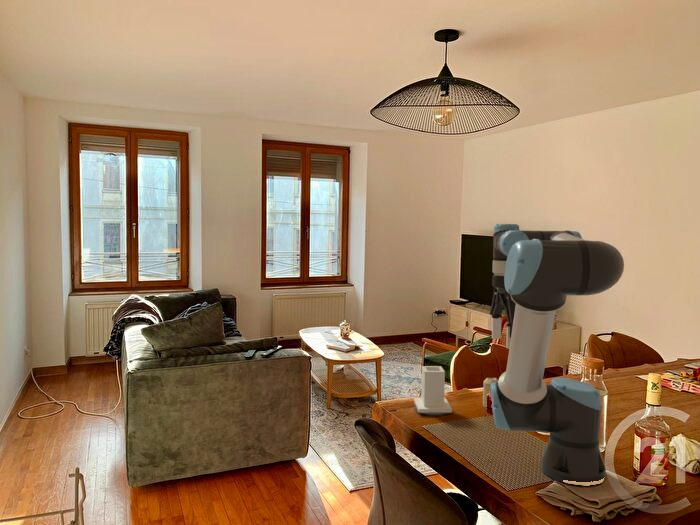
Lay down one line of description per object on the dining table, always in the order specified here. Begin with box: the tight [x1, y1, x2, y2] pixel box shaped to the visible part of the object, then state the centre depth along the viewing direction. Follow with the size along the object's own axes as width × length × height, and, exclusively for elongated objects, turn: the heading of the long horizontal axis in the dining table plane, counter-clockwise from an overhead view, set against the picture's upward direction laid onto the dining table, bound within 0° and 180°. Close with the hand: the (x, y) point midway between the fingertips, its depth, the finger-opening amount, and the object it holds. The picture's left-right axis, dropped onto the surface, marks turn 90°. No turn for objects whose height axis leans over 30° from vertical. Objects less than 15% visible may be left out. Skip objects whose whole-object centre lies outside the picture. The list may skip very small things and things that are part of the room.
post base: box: [413, 404, 449, 417], centre depth 178 cm, size 12×12×8 cm
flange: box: [413, 365, 453, 414], centre depth 178 cm, size 11×11×13 cm
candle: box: [482, 377, 499, 409], centre depth 182 cm, size 6×6×10 cm
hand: (503, 343), depth 162 cm, fingers open, 13 cm apart
